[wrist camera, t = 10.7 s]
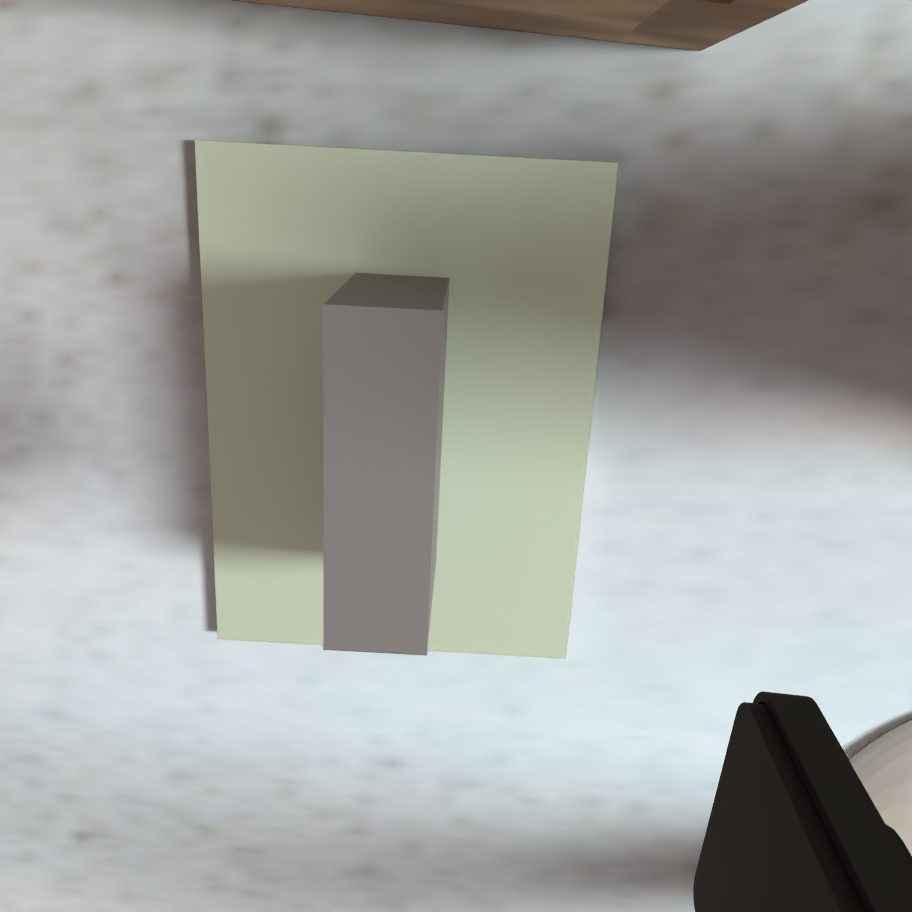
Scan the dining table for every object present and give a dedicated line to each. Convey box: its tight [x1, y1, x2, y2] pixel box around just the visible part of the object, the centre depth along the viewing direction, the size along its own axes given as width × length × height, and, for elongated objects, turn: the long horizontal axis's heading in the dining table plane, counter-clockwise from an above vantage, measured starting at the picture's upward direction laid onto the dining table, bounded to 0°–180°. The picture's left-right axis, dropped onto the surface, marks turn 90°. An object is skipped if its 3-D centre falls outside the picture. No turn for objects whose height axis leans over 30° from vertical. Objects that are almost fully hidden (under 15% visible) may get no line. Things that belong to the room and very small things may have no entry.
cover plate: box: [195, 140, 619, 659], centre depth 21 cm, size 10×14×6 cm
